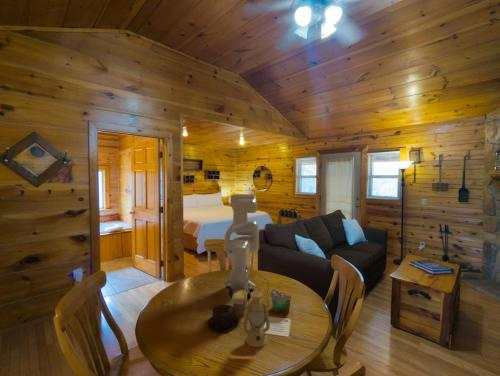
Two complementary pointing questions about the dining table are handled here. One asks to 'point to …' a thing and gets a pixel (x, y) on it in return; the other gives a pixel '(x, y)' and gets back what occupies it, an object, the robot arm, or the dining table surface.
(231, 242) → the robot arm
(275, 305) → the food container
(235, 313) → the walnut block
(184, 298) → the dining table surface
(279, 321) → the letter
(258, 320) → the lantern
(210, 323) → the top hat
